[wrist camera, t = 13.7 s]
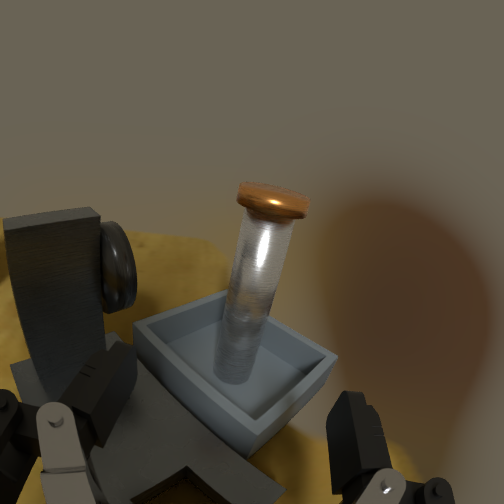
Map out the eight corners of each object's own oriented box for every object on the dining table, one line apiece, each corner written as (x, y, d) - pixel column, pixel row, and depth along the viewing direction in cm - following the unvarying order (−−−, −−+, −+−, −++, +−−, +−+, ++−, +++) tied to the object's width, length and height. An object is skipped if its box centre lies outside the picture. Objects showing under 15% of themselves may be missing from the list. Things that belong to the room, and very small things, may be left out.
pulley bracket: (13, 369, 16) (-25, 214, 11) (110, 337, 24) (108, 196, 19) (158, 589, 6) (105, 611, 1) (279, 496, 13) (383, 356, 9)
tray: (133, 354, 23) (132, 322, 21) (221, 317, 31) (227, 289, 30) (245, 460, 16) (257, 435, 14) (323, 384, 24) (338, 356, 23)
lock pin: (195, 372, 22) (225, 184, 16) (223, 346, 26) (258, 180, 20) (242, 398, 21) (297, 205, 15) (266, 368, 24) (318, 198, 19)
